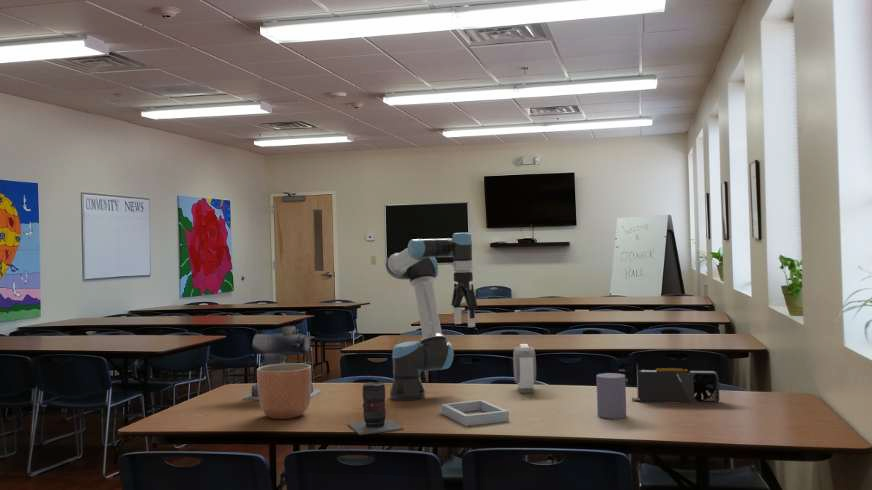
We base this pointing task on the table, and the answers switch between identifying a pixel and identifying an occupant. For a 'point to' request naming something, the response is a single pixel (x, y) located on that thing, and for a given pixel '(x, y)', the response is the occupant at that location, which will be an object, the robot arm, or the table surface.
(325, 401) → the table surface
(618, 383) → the container
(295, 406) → the planter
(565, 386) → the table surface
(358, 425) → the mat
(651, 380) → the graphics card
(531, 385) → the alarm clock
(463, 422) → the bin
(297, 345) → the grinder
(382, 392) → the camera lens
